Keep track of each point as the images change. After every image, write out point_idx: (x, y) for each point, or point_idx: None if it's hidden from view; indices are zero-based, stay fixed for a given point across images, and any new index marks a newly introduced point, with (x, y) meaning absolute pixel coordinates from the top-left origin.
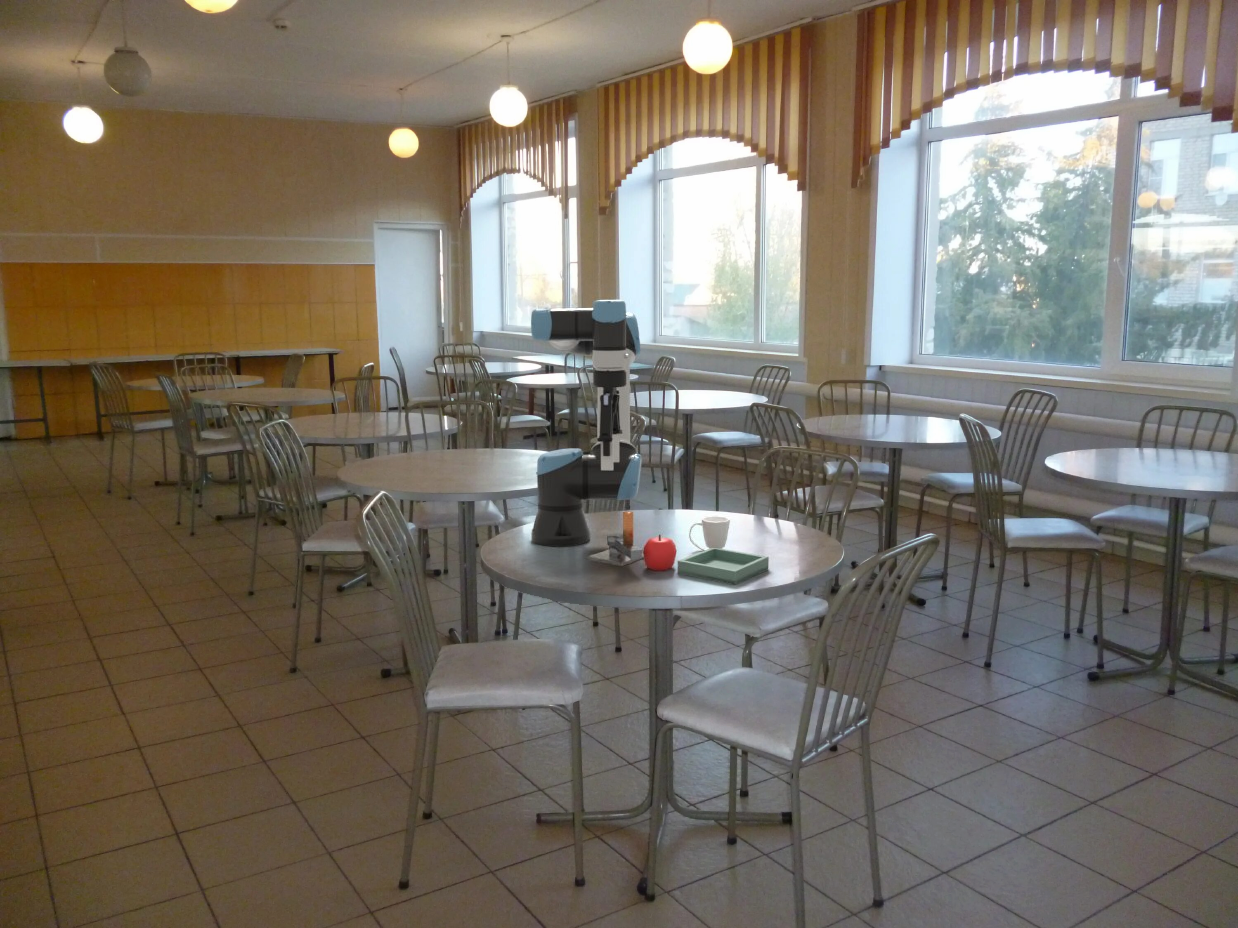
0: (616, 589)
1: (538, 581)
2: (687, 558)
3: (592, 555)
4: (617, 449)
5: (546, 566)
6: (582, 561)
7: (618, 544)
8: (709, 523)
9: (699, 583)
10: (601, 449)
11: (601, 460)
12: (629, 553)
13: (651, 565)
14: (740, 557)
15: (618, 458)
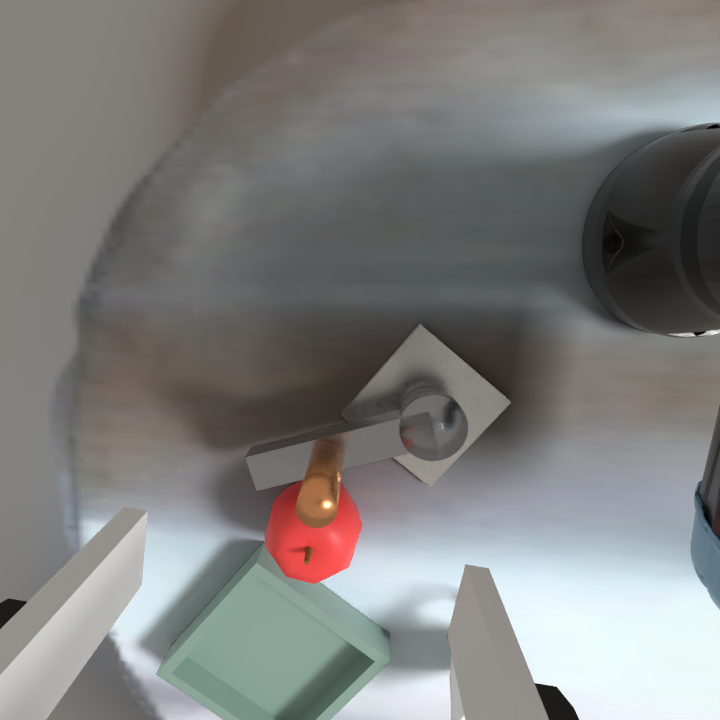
0: (125, 386)
1: (194, 174)
2: (279, 587)
3: (428, 336)
4: (471, 718)
5: (353, 194)
6: (401, 304)
7: (362, 424)
8: (462, 710)
9: (180, 577)
10: (5, 630)
11: (78, 555)
12: (259, 449)
13: (284, 490)
14: (325, 700)
15: (453, 656)
